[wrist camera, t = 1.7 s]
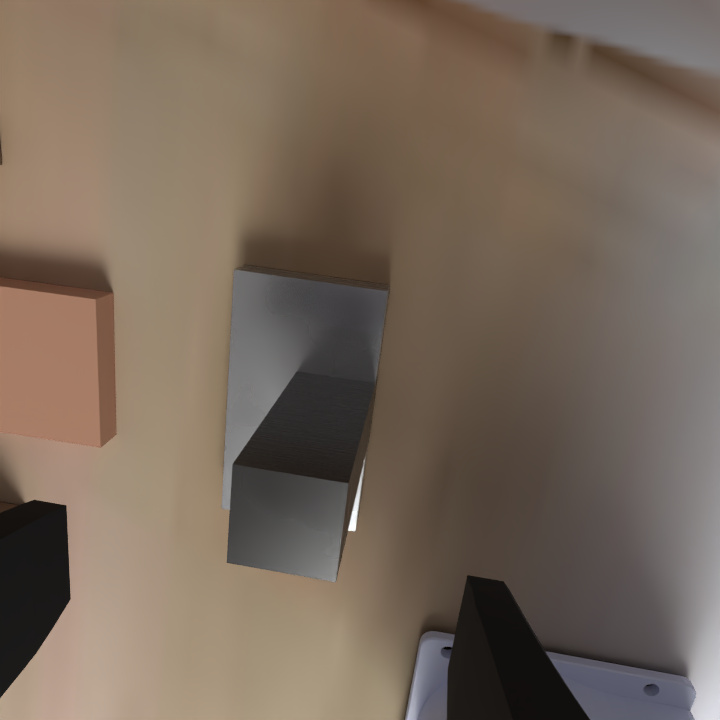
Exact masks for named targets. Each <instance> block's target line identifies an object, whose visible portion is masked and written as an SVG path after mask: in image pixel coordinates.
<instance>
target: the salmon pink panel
mask: <svg viewBox="0 0 720 720" xmlns="http://www.w3.org/2000/svg"><path fill="white" fill-rule="evenodd" d="M0 432H4V433H10V434H17V435H23V436H29V437H36V438H42V439H48V440H55V441H61V442H68V443H74V444H80V445H87V446H93V447H99V448H101V447H102V446H103V445H104V444H106V443H107V442H108V441H109V440H110V439H112V438H113V437H114V436H115V435H116V390H115V344H114V298H113V293H111V292H104V291H97V290H90V289H82V288H75V287H68V286H60V285H53V284H46V283H39V282H31V281H24V280H17V279H9V278H2V277H0Z"/></svg>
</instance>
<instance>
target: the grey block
mask: <svg viewBox="0 0 720 720" xmlns="http://www.w3.org/2000/svg"><path fill="white" fill-rule="evenodd" d="M389 290H390V285H385V284H378V283H371V282H364V281H357V280H350V279H342V278H335V277H328V276H321V275H314V274H307V273H300V272H293V271H285V270H278V269H271V268H264V267H257V266H250V265H243V266H241V267H239V268H236V269H234V280H233V299H232V318H231V338H230V357H229V376H228V396H227V415H226V434H225V454H224V473H223V492H222V509H228V510H230V516H229V533H228V551H227V563H232V564H237V565H243V566H248V567H254V568H259V569H265V570H271V571H276V572H282V573H287V574H293V575H299V576H304V577H310V578H315V579H321V580H326V581H332V582H336V580H337V575H338V571H339V567H340V562H341V558H342V554H343V550H344V545H345V541H346V537H347V532H348V530H350V531H355V530H356V525H357V520H358V516H359V509H360V502H361V494H362V487H363V480H364V472H365V465H366V458H367V451H368V443H369V436H370V429H371V422H372V414H373V407H374V400H375V392H376V385H377V378H378V371H379V363H380V356H381V349H382V341H383V334H384V327H385V320H386V312H387V305H388V298H389Z"/></svg>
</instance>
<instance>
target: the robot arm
mask: <svg viewBox="0 0 720 720" xmlns="http://www.w3.org/2000/svg"><path fill="white" fill-rule="evenodd" d="M69 601H70V578H69V555H68V533H67V511H66V505H60V504H55V503H49V502H43V501H37V500H33V501H30V502H27V503H24V504H21V505H18V506H16V507H13V508H11V509H8V510H6V511H3V512H1V513H0V698H1V696H2V695H3V694H4V693H5V691H6V690H7V689H8V688H9V686H10V685H11V684H12V683H13V681H14V680H15V679H16V678H17V677H18V675H19V674H20V673H21V672H22V670H23V669H24V668H25V667H26V665H27V664H28V663H29V662H30V660H31V659H32V658H33V656H34V655H35V654H36V653H37V651H38V650H39V648H40V647H41V645H42V644H43V642H44V640H45V639H46V637H47V636H48V634H49V633H50V631H51V630H52V628H53V627H54V625H55V623H56V622H57V620H58V619H59V617H60V615H61V614H62V612H63V610H64V609H65V607H66V605H67V604H68V602H69ZM444 647H452V649H451V650H446V649H443V648H444ZM648 684H653V685H651V686H646V685H648ZM695 697H696V691H695V689H694V687H693V685H692V683H691V681H690V680H689V679H687V678H686V677H683V676H679V675H673V674H668V673H662V672H657V671H651V670H646V669H640V668H635V667H629V666H624V665H618V664H613V663H607V662H602V661H596V660H591V659H585V658H580V657H574V656H569V655H563V654H558V653H552V652H547V651H545V650H544V648H543V647H542V645H541V644H540V642H539V640H538V639H537V637H536V635H535V634H534V632H533V630H532V629H531V627H530V625H529V623H528V622H527V620H526V618H525V617H524V615H523V613H522V611H521V610H520V608H519V606H518V604H517V603H516V601H515V599H514V597H513V595H512V594H511V592H510V590H509V588H508V587H507V586H506V584H505V583H504V582H503V581H497V580H492V579H486V578H480V577H474V576H469V575H468V576H467V581H466V585H465V590H464V595H463V599H462V604H461V609H460V613H459V618H458V623H457V627H456V632H455V635H454V634H448V633H443V632H437V631H429V632H426V633H425V634H423V635H422V636H421V639H420V642H419V647H418V652H417V658H416V663H415V668H414V673H413V679H412V684H411V689H410V694H409V700H408V705H407V710H406V716H405V720H694V718H693V715H692V713H691V712H690V710H691V708H692V705H693V703H694V700H695Z"/></svg>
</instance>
